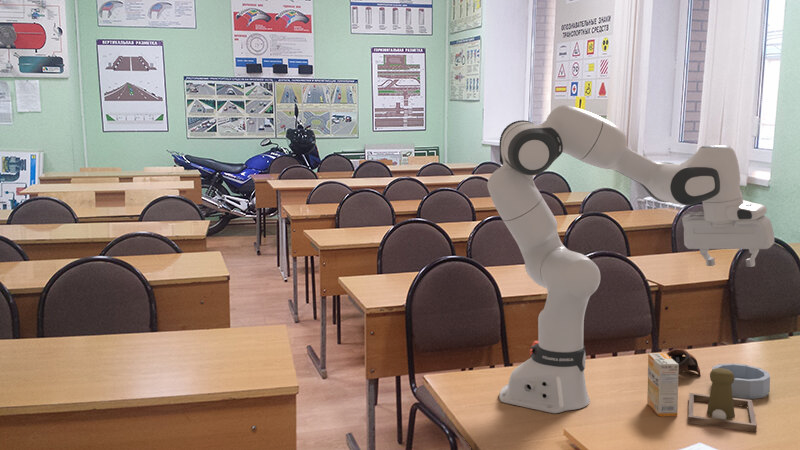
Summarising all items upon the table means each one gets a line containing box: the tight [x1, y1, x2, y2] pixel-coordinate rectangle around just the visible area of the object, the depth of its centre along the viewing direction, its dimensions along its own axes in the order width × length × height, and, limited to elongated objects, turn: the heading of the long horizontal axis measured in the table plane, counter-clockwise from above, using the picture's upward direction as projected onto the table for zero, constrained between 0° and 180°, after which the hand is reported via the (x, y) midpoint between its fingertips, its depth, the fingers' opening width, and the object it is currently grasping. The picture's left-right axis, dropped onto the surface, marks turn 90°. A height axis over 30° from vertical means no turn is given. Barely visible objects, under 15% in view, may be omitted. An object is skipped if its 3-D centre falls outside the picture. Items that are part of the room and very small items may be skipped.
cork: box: [706, 368, 736, 420], centre depth 159 cm, size 6×6×11 cm
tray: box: [687, 392, 758, 433], centre depth 160 cm, size 14×16×2 cm
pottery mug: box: [666, 347, 701, 377], centre depth 188 cm, size 12×10×8 cm
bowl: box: [711, 362, 771, 400], centre depth 175 cm, size 13×13×5 cm
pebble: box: [711, 409, 727, 420], centre depth 155 cm, size 3×3×3 cm
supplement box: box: [646, 352, 680, 417], centre depth 163 cm, size 8×5×13 cm, turn 178°
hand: (730, 265), depth 164 cm, fingers open, 8 cm apart
